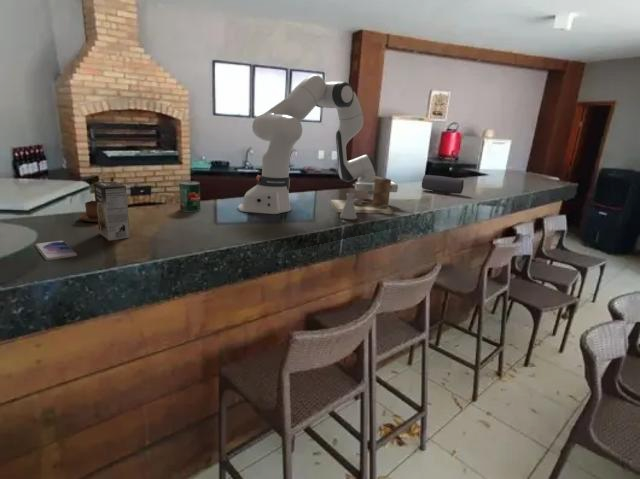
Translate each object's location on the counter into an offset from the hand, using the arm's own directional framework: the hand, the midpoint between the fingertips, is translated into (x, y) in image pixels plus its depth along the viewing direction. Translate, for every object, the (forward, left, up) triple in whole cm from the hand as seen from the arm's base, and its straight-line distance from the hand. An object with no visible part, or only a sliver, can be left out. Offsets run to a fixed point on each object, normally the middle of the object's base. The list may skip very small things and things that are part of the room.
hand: (380, 190), depth 180 cm
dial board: (-9, +1, -9) cm, 12 cm away
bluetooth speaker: (+53, +50, -9) cm, 74 cm away
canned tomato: (-82, -12, -9) cm, 83 cm away
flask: (-18, -19, -9) cm, 28 cm away
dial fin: (-4, 0, -7) cm, 8 cm away
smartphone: (-108, -64, -9) cm, 126 cm away
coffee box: (-98, -50, -9) cm, 110 cm away
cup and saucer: (-110, -31, -9) cm, 114 cm away
